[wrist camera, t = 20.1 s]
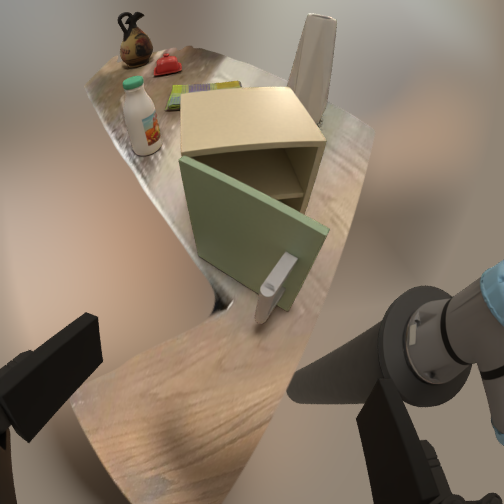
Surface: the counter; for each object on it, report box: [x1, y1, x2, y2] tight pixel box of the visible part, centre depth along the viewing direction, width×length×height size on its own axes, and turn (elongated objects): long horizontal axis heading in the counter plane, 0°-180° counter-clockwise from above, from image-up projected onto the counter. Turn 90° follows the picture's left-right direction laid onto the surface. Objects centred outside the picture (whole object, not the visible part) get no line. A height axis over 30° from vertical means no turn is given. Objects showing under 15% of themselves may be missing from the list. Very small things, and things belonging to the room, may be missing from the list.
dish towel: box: [165, 81, 242, 111], centre depth 76 cm, size 18×24×3 cm
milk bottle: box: [123, 76, 162, 156], centre depth 54 cm, size 8×8×20 cm
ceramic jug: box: [118, 12, 153, 67], centre depth 85 cm, size 17×15×30 cm
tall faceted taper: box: [287, 13, 337, 125], centre depth 57 cm, size 12×12×33 cm
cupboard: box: [180, 87, 327, 215], centre depth 44 cm, size 16×18×22 cm
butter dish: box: [154, 54, 182, 76], centre depth 87 cm, size 12×12×8 cm
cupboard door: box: [179, 155, 330, 324], centre depth 35 cm, size 7×18×22 cm, turn 56°
